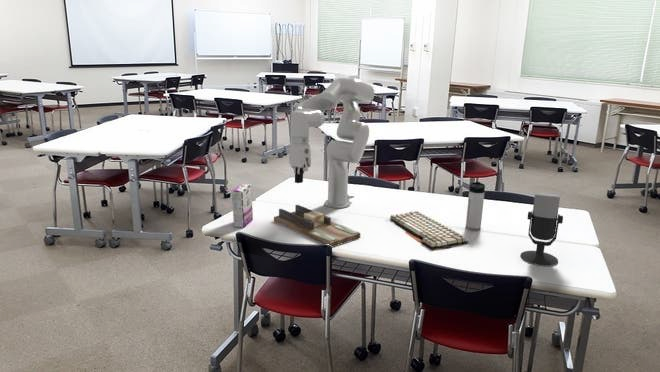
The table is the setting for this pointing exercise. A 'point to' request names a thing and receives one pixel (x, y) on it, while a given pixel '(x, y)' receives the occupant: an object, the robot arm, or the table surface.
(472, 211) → the travel mug
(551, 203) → the microphone
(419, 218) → the mechanical keyboard
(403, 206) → the table surface
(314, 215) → the maple block
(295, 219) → the runway board
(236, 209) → the candy bar box
